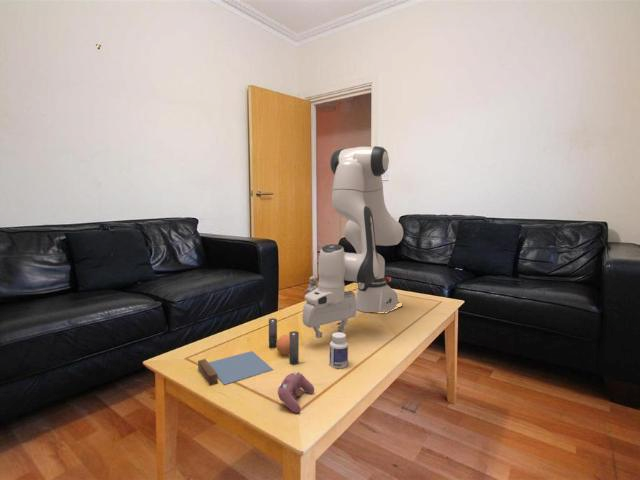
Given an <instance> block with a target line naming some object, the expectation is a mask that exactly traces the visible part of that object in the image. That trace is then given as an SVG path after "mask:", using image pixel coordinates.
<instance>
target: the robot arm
mask: <svg viewBox="0 0 640 480" xmlns="http://www.w3.org/2000/svg"><path fill="white" fill-rule="evenodd" d="M389 159H390V157H389V153H388V150H386V148H384V146H383V147H382V146H379V145H378V146H377V145H374V146H357V147H350V148H346V149H344V148H342V149H341V148H339V149H337V150H335V151H334V152H333V153H332V155H331V158H330V170H331V171H332V173H333V175H334V177H333V182H332V192H331V204H332V205H331V206H332V207H333V209H334V211H335V213H337V214H338V215H339V216H341V217H344V218H345V219H347V220H348V221H347V222H346V223H345V225H344V227H343V228H344V229H343V234H344V237H345V240H346V241H347V242H349V243H350V244H351V245H352V247H353V248H354V250H355V253H354V252H347V251H346V252H345V250H344V249H345V248H344V247H343V246H342V245H340V244H335V243H333V244H326V245H324V246H322V247H321V248H320V251H319V255H318V265H317V272H318V273H317V274H318V277H319V278H318V283H317V288H316V289H315V290H313V291H311V292H310V293H309V292H308V293H306V294H304V301H306V302H304V305H303V310H302V323H303V325H304V326H305V327H306V328H310V329H311V328H312V329H313V330H314V332H315V338H316V339H322V338H323V332H322V331H320V330H319V329H320V328H321V326H323V325H328V324H331V323H337V322H340V324H339V325H337V331H338V332H341V333H344V332H345V327H346V326H347V323H348V319H352V318H355V317H356V314H357V311H360V312H364V313H369V312H384V313H385V312H388V311H390V310H392V309H394V308H395V307H397V306H396V305H397V304H398V301H399V299H398V293H397V292H396V291H395V290H394V289H393V288H391V286H389V285H388V283H390V282H392V278H391V277H390V276H385V271H386V270H385V268H386V267H385V266H386V265H385V264H386V261H385V257H383V256H382V255H381V254H380V253H378V252H377V246H381V247H382V246H383V247H384V246H385V247H389V246H395V245H396V246H397V245H398V244H399V243H401V241H402V240H403V237H404V228H403V226H402V224H401V223H400V222H399V221H397V220H396V219H395V218H394V217H393V216H392V214H391V213H390V212H389V211H388V209H387V207H386V203H385V202H386V201H385V197H384V185H383V184H384V183H383V178H382V175H384V174H385V173H386V172H387V171H388V167H389V163H390V160H389ZM345 281H348V282H355V283H356V284H357V291H356V294H355V292H354V291H352V290H348V291H345V287H346V285H345Z"/></svg>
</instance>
